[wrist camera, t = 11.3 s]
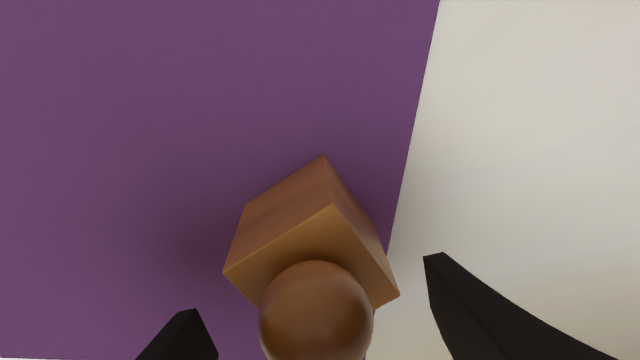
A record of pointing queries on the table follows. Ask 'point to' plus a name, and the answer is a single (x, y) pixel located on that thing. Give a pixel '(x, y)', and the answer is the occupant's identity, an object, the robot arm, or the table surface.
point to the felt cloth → (181, 152)
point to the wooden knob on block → (310, 267)
